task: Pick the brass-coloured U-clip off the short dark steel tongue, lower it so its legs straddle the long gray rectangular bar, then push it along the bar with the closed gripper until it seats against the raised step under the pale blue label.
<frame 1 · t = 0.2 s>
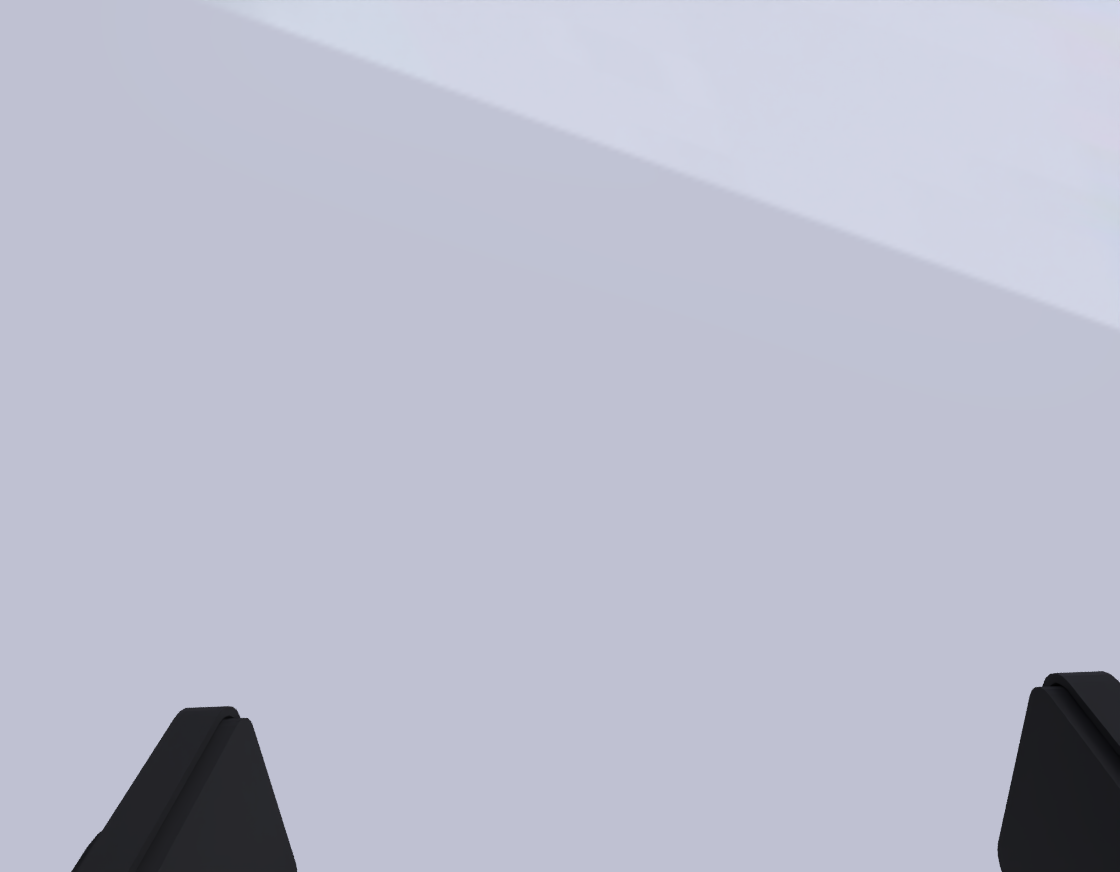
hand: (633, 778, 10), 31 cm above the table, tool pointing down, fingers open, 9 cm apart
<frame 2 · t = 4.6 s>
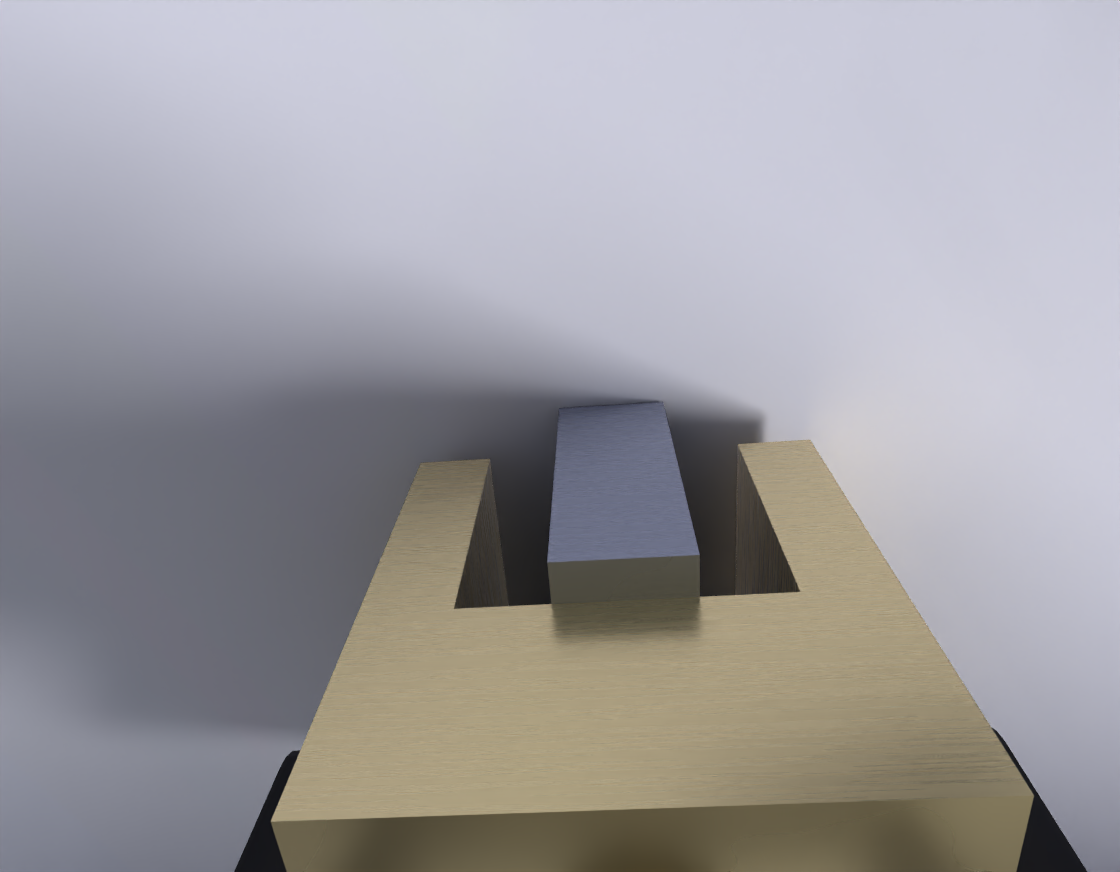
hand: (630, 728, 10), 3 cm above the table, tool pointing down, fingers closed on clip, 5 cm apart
clip: (622, 623, 12), point 1 cm above the table, touching gripper, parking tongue
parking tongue: (621, 604, 13), on the table
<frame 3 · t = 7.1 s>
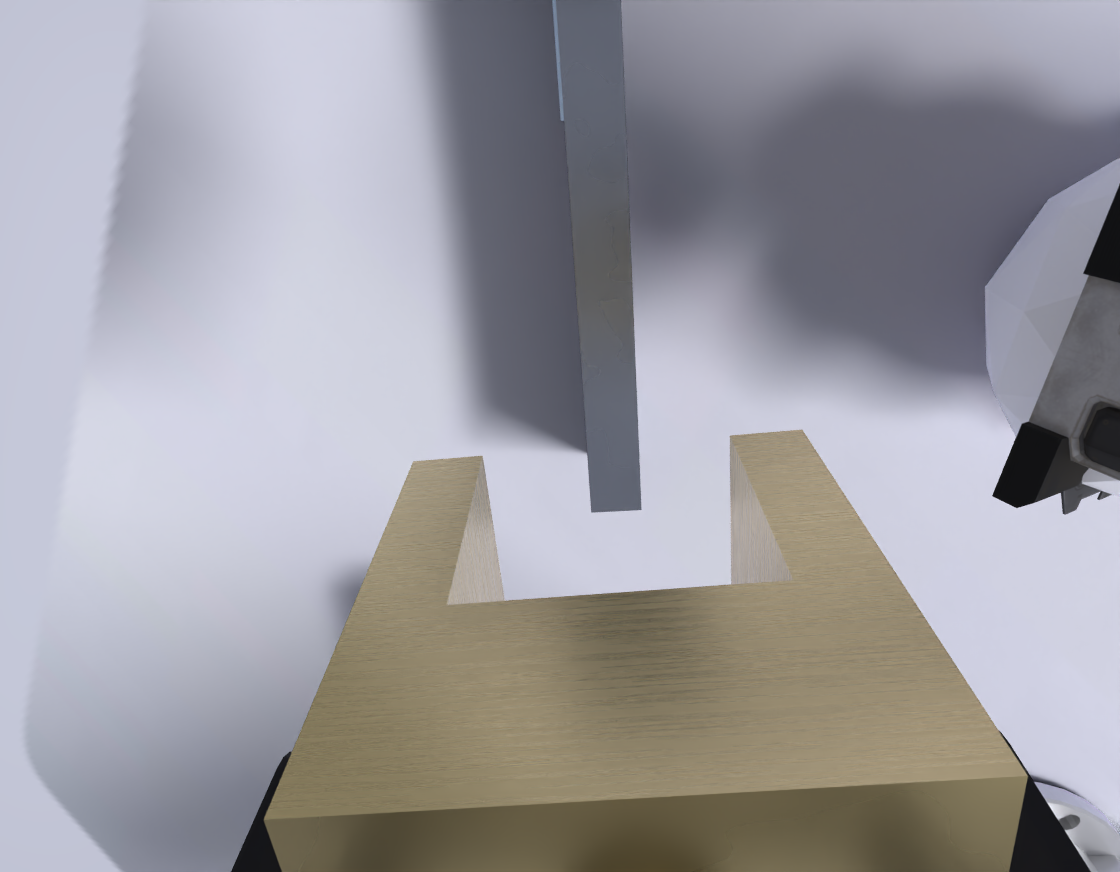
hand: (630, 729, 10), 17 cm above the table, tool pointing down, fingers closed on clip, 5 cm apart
gray rectangular bar: (599, 218, 24), on the table
clip: (619, 618, 12), point 15 cm above the table, touching gripper
when the fingers open (4 cm above the table, at t = 9.4 s): clip stays where it is, resting on gray rectangular bar.
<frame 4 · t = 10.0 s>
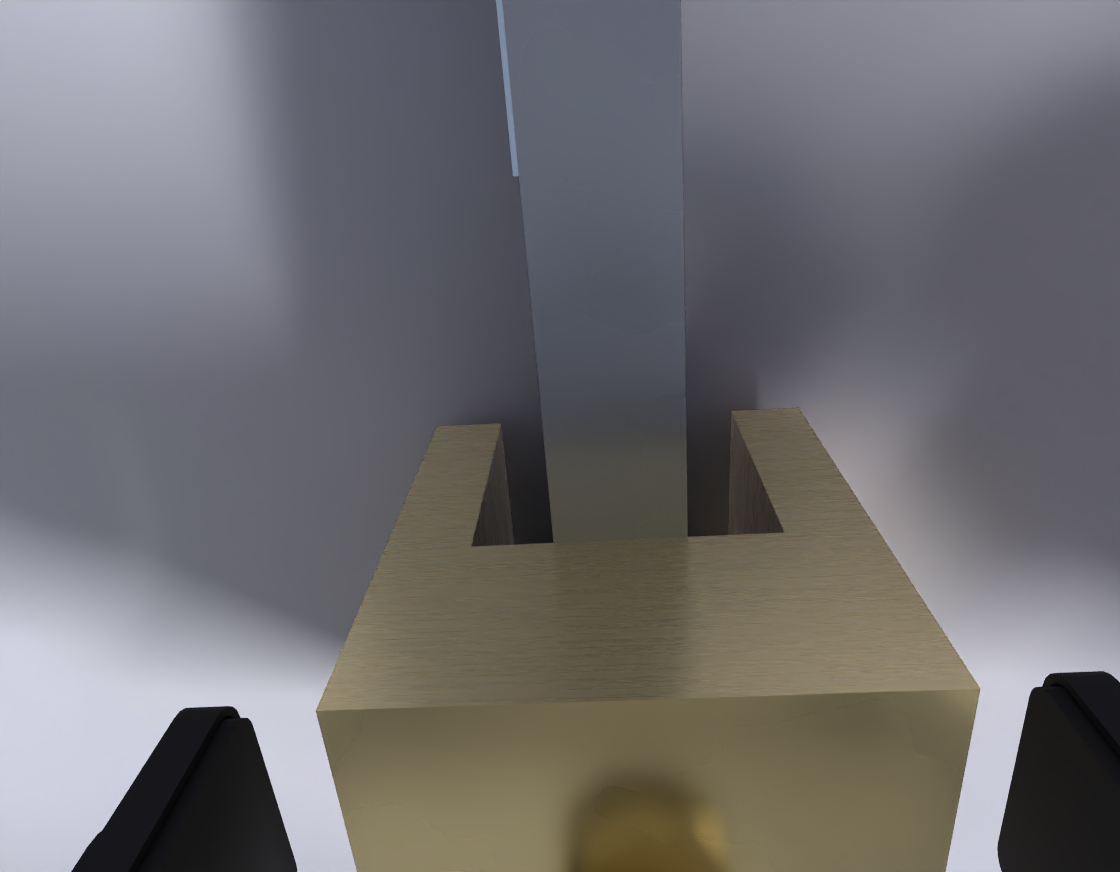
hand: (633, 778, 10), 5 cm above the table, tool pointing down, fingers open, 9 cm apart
gray rectangular bar: (606, 350, 12), on the table
clip: (622, 581, 13), resting on gray rectangular bar
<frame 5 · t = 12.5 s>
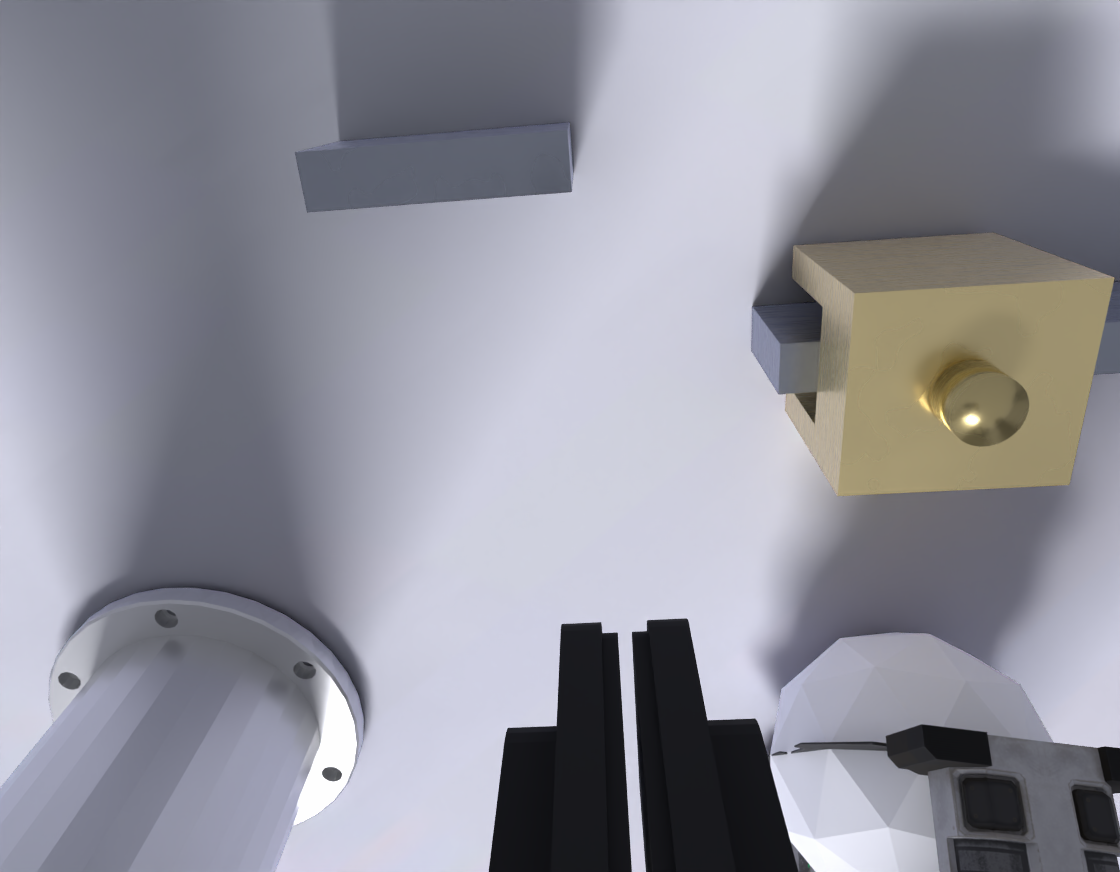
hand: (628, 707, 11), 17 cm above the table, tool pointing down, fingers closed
gray rectangular bar: (1002, 312, 25), on the table
clip: (884, 325, 25), resting on gray rectangular bar
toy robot: (835, 751, 34), on the table
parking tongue: (456, 158, 24), on the table
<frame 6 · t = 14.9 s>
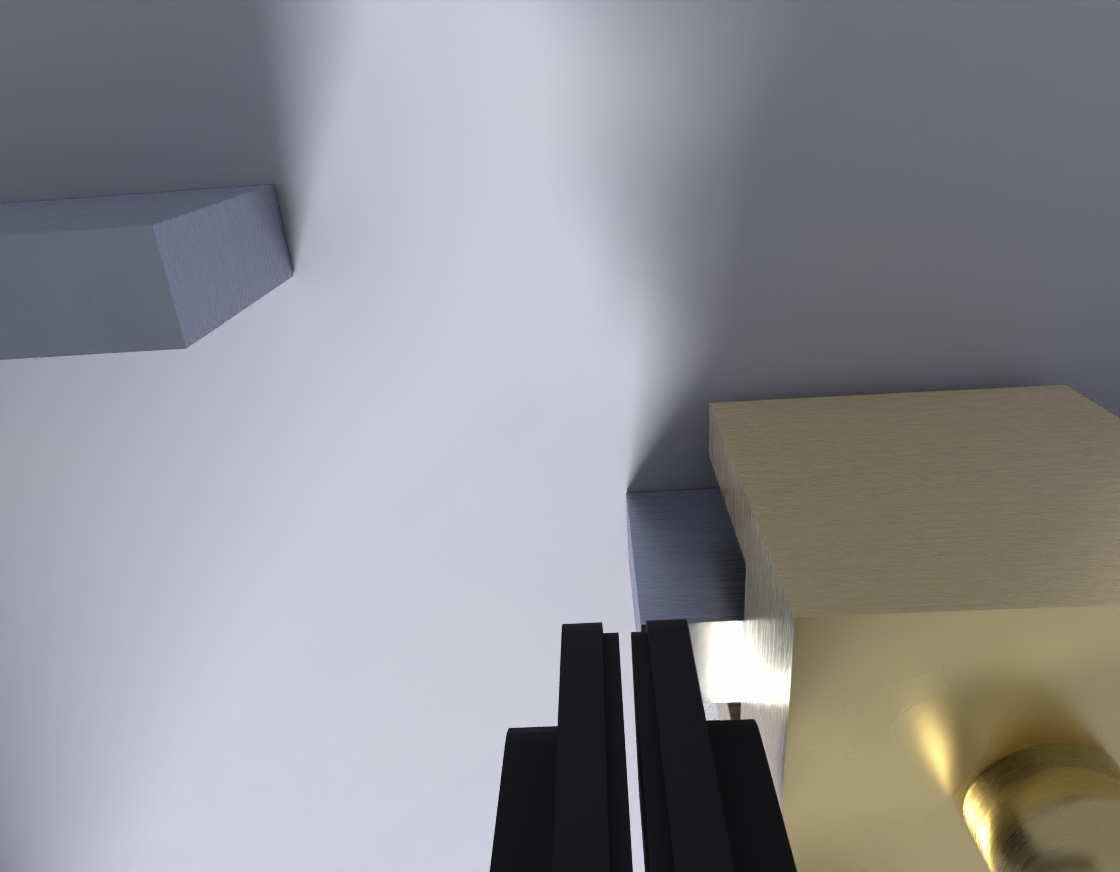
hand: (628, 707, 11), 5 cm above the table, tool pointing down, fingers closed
gray rectangular bar: (1052, 506, 15), on the table
clip: (870, 532, 15), point 1 cm above the table, touching gripper
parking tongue: (80, 244, 13), on the table
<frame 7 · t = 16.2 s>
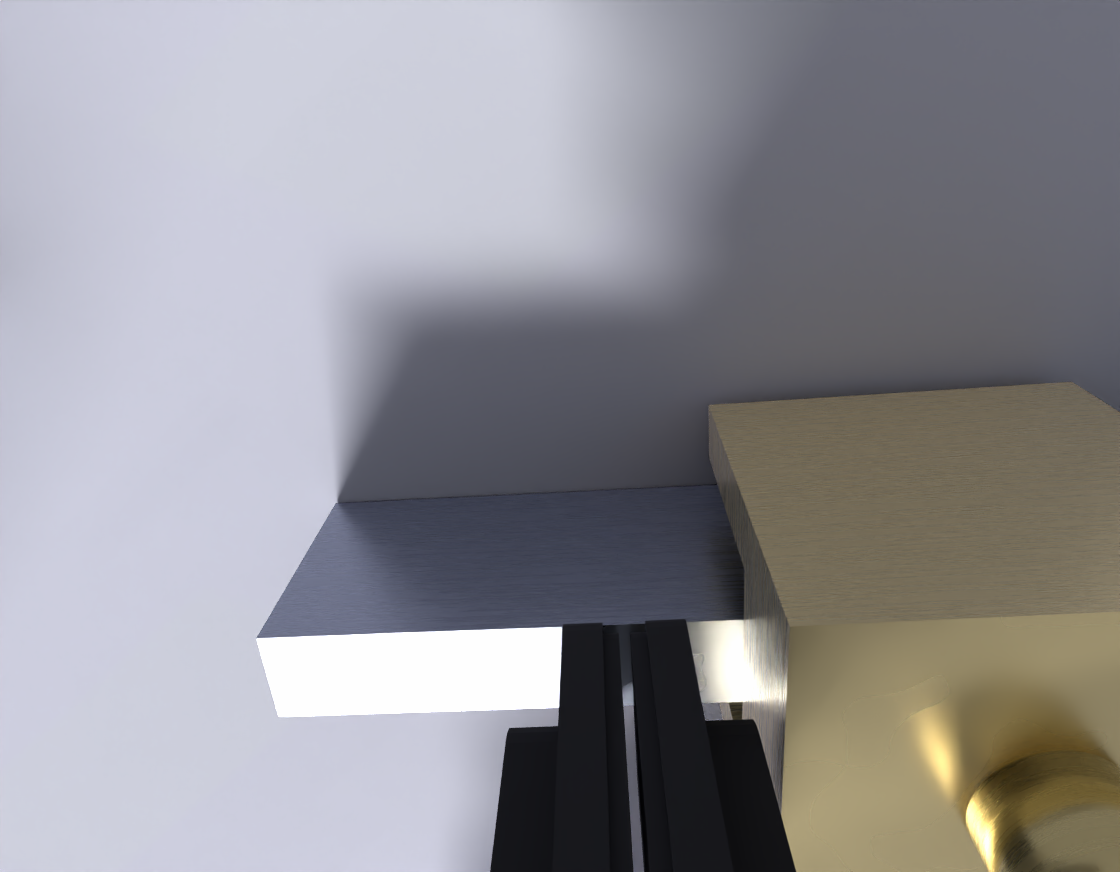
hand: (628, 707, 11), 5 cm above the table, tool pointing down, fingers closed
gray rectangular bar: (756, 517, 15), on the table
clip: (874, 533, 14), resting in gray rectangular bar, touching gripper
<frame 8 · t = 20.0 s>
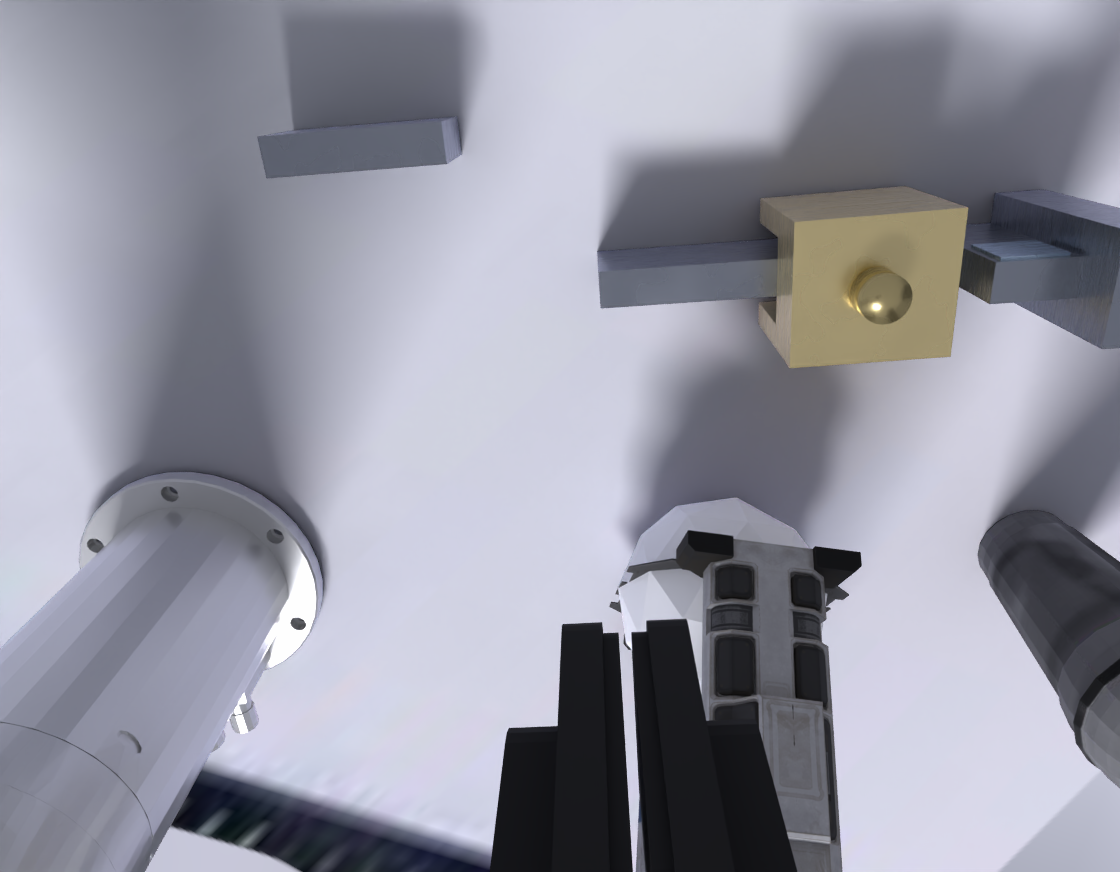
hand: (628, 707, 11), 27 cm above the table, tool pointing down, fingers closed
gray rectangular bar: (778, 255, 35), on the table
clip: (829, 257, 34), resting in gray rectangular bar
beverage cup: (1021, 546, 41), on the table
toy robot: (691, 608, 43), on the table
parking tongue: (377, 142, 33), on the table
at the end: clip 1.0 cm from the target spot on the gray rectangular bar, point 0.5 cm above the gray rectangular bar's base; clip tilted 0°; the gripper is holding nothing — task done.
